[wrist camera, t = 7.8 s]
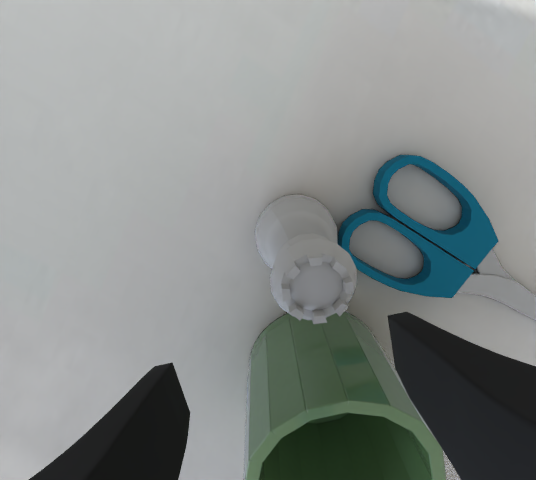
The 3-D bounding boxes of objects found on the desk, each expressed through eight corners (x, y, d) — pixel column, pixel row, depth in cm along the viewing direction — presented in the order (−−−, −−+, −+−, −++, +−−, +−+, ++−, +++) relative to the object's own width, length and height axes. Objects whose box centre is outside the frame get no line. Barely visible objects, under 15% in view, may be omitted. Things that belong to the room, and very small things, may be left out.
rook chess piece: (238, 227, 20) (226, 284, 12) (300, 175, 19) (330, 201, 11) (288, 284, 21) (306, 369, 13) (349, 236, 20) (407, 298, 12)
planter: (388, 405, 23) (453, 536, 16) (265, 432, 24) (270, 573, 16) (370, 292, 21) (435, 381, 13) (233, 323, 21) (220, 427, 14)
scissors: (405, 142, 18) (664, 323, 21) (397, 142, 18) (647, 315, 22) (329, 252, 19) (583, 403, 23) (325, 247, 20) (570, 393, 24)
